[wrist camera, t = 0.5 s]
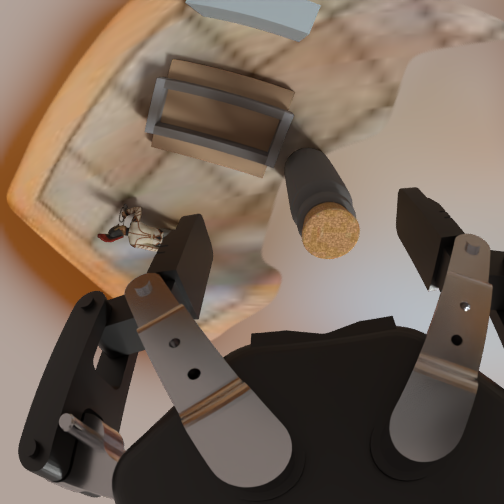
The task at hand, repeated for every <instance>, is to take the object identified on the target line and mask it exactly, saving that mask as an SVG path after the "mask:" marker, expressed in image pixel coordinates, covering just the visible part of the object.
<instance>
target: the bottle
mask: <svg viewBox="0 0 504 504" xmlns="http://www.w3.org/2000/svg"><path fill="white" fill-rule="evenodd" d="M285 179H286V186H287V192H288V198H289V203H290V210H291V214H292V217H293V220H294V222H295V223H296V225H297V227H298V231H299V234H300V235H301V237H302V242H303V244H304V246H305V248H306V250H307V251H308V252H310V253H311V254H312V255H314V256H316V257H318V258H323V259H334V258H338V257H341V256H343V255H345V254H346V253H348V252H349V251H350V250H351V249H352V248H353V247H354V246H355V244H356V243H357V241H358V238H359V234H360V229H359V224H358V221H357V220H356V214H355V211H354V209H353V206H352V199H351V196H350V193H349V191H348V190H347V188H346V186H345V184H344V183H343V181H342V179H341V178H340V176H339V175H338V173H337V171H336V170H335V168H334V167H333V165H332V164H331V162H330V160H329V159H328V158H327V156H326V155H325V154H324V153H322V152H321V151H319V150H316V149H313V148H303V149H300V150H298V151H296V152H294V153H293V154H292V155H291V156H290V157H289V158H288V160H287V162H286V164H285Z"/></svg>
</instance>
